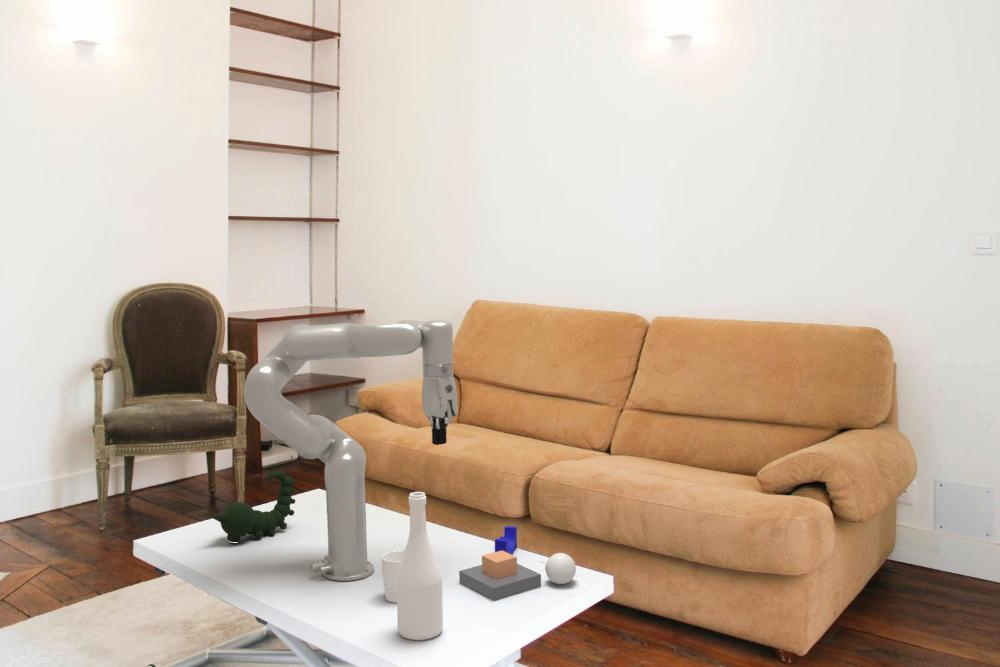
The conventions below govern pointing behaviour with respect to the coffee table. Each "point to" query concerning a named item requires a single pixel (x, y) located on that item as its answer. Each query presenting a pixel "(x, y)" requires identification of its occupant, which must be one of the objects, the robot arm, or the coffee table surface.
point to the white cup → (391, 573)
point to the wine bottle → (419, 580)
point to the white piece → (560, 568)
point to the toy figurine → (258, 513)
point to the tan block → (499, 564)
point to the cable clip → (507, 541)
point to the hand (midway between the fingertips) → (439, 443)
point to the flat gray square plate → (499, 582)
